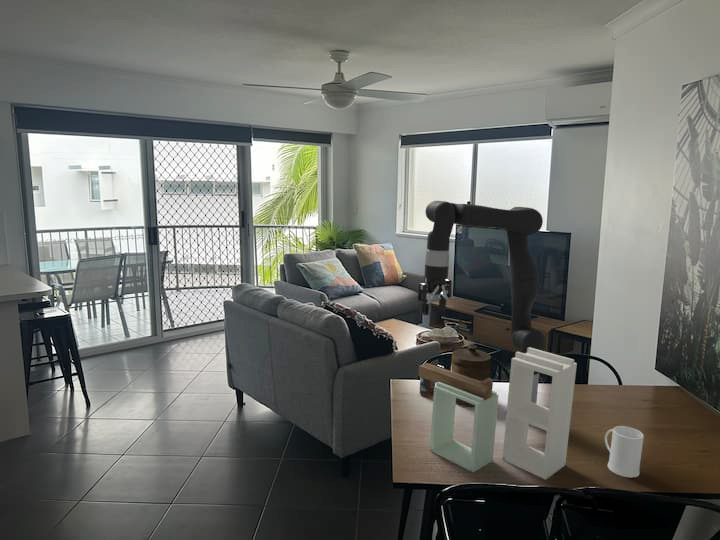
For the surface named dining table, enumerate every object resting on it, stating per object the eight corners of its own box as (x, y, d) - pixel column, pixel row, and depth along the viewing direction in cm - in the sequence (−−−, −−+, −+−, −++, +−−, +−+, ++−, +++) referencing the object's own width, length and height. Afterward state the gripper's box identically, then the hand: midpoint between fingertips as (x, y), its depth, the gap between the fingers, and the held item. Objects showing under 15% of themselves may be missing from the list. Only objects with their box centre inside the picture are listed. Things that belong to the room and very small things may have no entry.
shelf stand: (522, 446, 166) (532, 345, 160) (565, 465, 156) (577, 358, 150) (502, 459, 157) (512, 353, 152) (545, 479, 147) (557, 367, 142)
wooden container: (463, 388, 211) (467, 336, 207) (495, 400, 200) (500, 346, 197) (440, 398, 201) (444, 343, 197) (472, 411, 190) (477, 353, 187)
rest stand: (449, 440, 168) (454, 375, 164) (492, 460, 157) (498, 391, 153) (429, 450, 161) (434, 383, 157) (473, 472, 150) (479, 400, 146)
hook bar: (426, 373, 168) (427, 357, 167) (491, 396, 152) (493, 379, 151) (418, 376, 165) (419, 360, 164) (484, 400, 149) (485, 382, 148)
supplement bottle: (436, 393, 205) (438, 366, 203) (432, 398, 200) (433, 370, 198) (422, 390, 208) (423, 363, 206) (417, 395, 202) (418, 367, 201)
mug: (593, 458, 160) (597, 422, 158) (615, 455, 163) (620, 419, 161) (622, 479, 149) (627, 440, 147) (646, 475, 152) (651, 437, 150)
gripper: (432, 267, 159) (428, 318, 162) (459, 263, 169) (456, 312, 172) (413, 263, 164) (410, 313, 167) (441, 260, 174) (438, 307, 177)
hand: (433, 312), depth 169 cm, fingers open, 8 cm apart
